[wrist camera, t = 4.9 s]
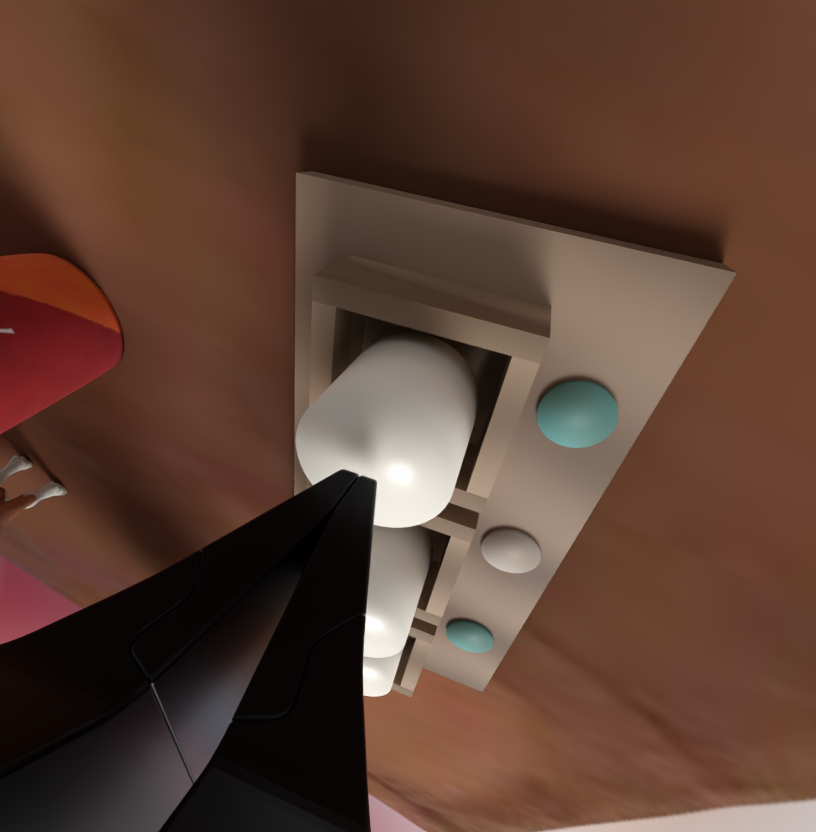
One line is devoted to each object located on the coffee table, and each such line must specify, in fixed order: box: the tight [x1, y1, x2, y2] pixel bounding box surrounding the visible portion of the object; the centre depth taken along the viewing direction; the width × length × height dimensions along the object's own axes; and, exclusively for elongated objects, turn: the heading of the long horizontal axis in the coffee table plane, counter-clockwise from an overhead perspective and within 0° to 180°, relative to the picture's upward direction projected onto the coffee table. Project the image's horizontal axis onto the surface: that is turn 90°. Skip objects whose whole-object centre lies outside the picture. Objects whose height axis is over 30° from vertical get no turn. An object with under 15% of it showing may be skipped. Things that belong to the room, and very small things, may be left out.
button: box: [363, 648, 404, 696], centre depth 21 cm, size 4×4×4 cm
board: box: [294, 171, 737, 697], centre depth 17 cm, size 24×12×4 cm, turn 171°
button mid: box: [363, 525, 433, 658], centre depth 15 cm, size 4×4×4 cm
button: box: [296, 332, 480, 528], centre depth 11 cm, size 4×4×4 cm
